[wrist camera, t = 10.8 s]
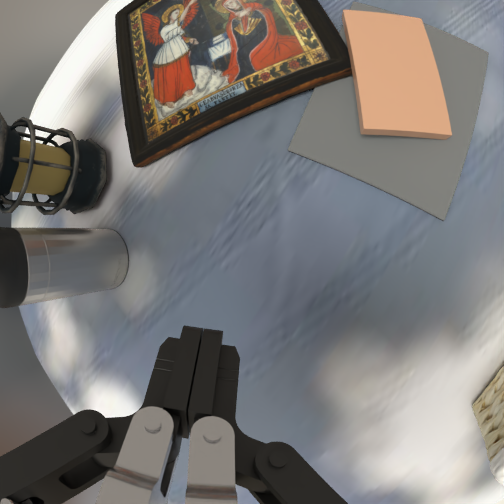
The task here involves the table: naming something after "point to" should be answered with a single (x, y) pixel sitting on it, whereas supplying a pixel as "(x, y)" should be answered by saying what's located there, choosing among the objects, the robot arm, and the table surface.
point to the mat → (399, 147)
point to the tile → (395, 76)
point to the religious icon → (216, 64)
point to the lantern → (49, 169)
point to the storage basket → (493, 423)
